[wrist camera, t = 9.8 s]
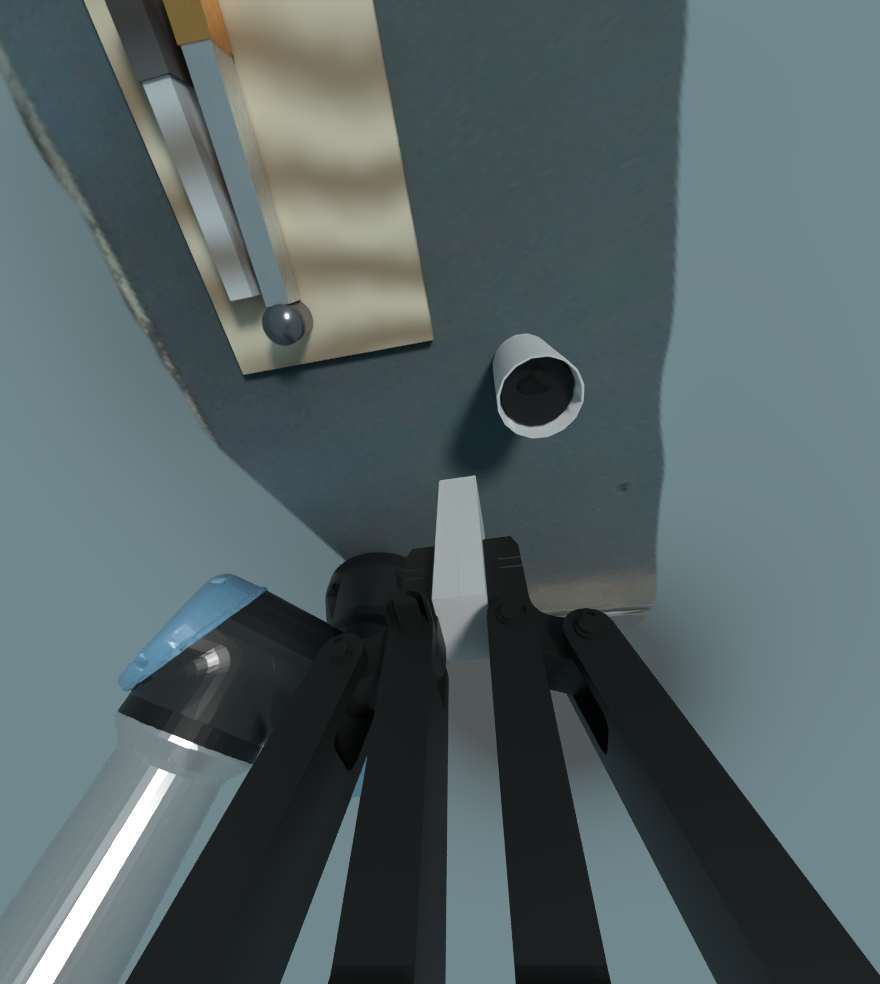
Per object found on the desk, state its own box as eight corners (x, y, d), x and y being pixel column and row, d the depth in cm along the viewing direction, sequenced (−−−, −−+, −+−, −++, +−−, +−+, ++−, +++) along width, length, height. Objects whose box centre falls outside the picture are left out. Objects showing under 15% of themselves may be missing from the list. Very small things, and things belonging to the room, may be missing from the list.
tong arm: (317, 334, 38) (305, 343, 35) (284, 339, 38) (269, 348, 35) (209, -56, 26) (176, -95, 23) (162, -45, 26) (124, -82, 23)
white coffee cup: (473, 360, 40) (479, 393, 32) (531, 312, 38) (553, 334, 29) (514, 410, 43) (529, 453, 34) (570, 368, 40) (601, 403, 32)
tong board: (433, 337, 39) (431, 347, 36) (247, 371, 41) (228, 384, 38) (352, -116, 25) (335, -174, 22) (80, -28, 28) (24, -68, 24)
